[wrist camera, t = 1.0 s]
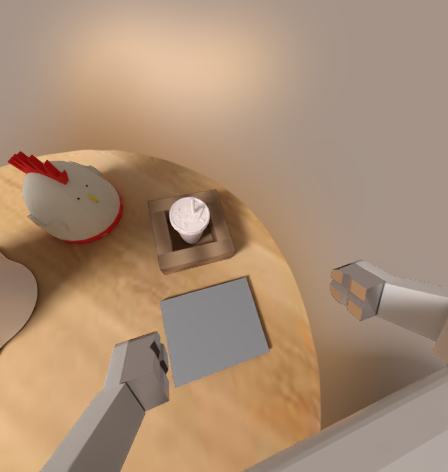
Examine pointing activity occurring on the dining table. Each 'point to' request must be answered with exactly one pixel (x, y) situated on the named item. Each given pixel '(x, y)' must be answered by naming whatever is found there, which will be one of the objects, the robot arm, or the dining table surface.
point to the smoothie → (189, 218)
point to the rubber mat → (212, 330)
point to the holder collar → (194, 255)
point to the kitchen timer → (68, 199)
